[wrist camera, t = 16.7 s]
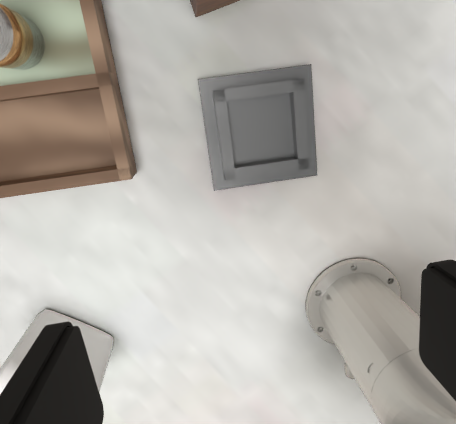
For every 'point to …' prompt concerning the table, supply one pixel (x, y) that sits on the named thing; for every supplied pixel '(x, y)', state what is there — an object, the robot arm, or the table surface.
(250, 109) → the tester cradle
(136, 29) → the table surface
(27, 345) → the photo printer
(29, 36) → the cell
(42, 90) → the wooden divided tray
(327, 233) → the table surface
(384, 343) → the robot arm
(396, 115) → the table surface
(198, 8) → the tissue box cover
